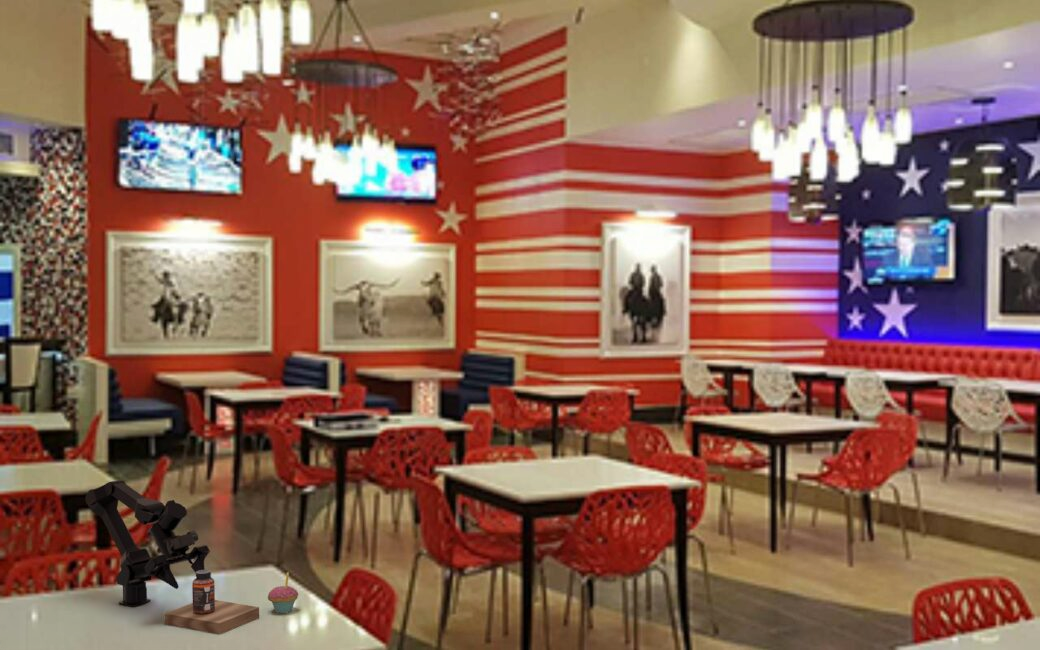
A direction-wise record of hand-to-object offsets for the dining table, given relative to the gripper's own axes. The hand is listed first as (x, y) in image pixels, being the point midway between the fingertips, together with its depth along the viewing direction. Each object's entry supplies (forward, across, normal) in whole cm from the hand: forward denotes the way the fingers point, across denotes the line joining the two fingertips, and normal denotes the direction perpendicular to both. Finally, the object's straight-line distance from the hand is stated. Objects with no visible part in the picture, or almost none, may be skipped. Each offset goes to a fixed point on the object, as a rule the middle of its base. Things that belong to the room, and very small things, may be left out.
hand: (191, 584), depth 302 cm
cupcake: (+18, +20, -4) cm, 27 cm away
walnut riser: (+11, +2, +2) cm, 12 cm away
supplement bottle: (+9, 0, +1) cm, 9 cm away
